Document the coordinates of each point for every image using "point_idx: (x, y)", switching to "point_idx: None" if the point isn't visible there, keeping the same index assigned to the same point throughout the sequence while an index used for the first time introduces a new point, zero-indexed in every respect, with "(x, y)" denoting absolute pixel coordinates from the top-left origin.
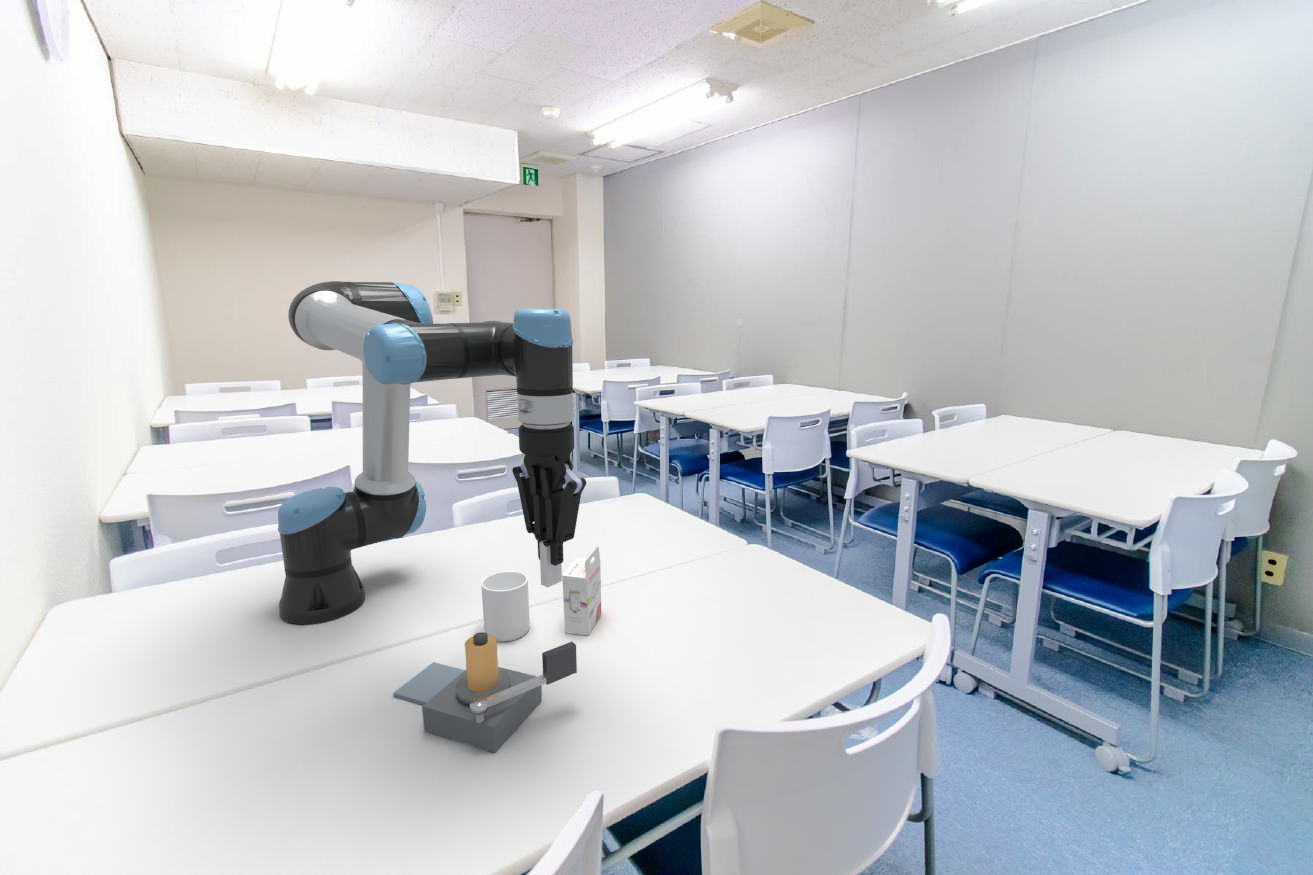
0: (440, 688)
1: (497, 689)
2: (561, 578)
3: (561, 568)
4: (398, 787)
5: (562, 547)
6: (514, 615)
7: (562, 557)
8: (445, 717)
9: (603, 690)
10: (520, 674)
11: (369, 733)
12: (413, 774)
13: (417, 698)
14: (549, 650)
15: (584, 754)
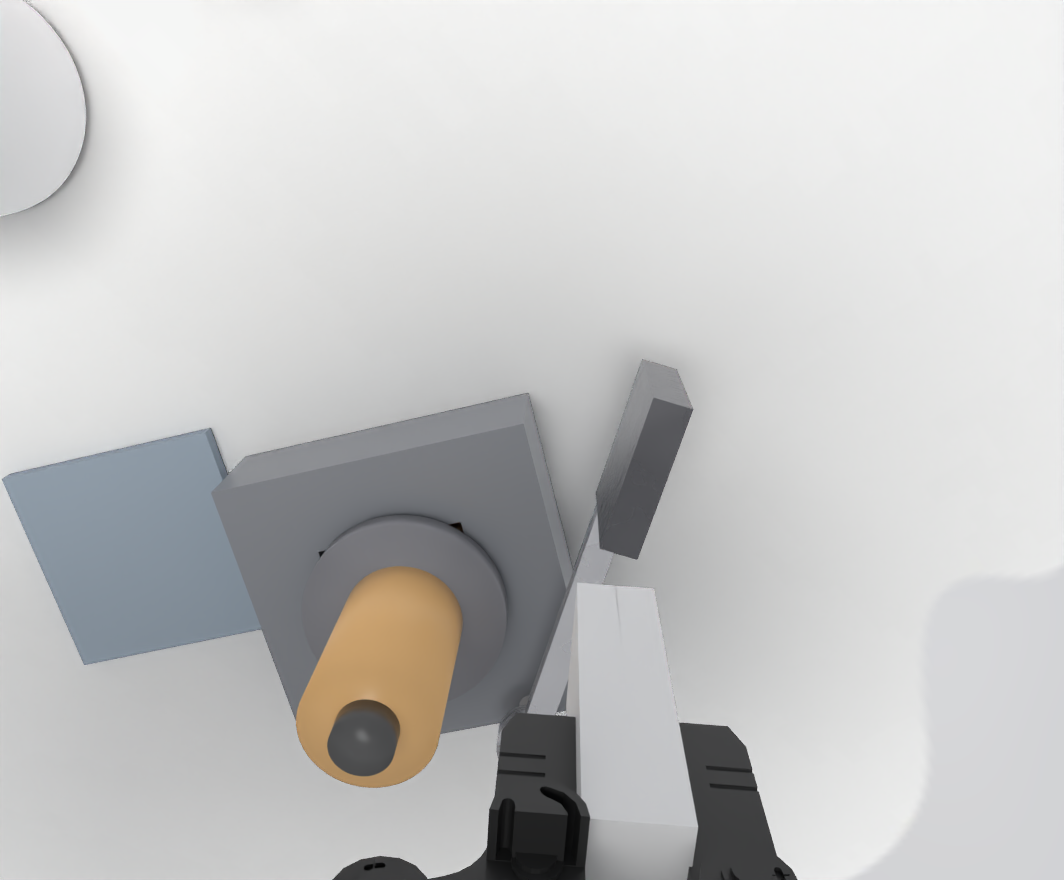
0: (184, 566)
1: (482, 617)
2: (654, 601)
3: (663, 642)
4: (478, 851)
5: (769, 842)
6: (17, 145)
7: (748, 772)
8: None
9: (692, 201)
10: (437, 455)
11: (214, 785)
12: (469, 810)
13: (176, 639)
14: (615, 517)
15: (845, 510)
